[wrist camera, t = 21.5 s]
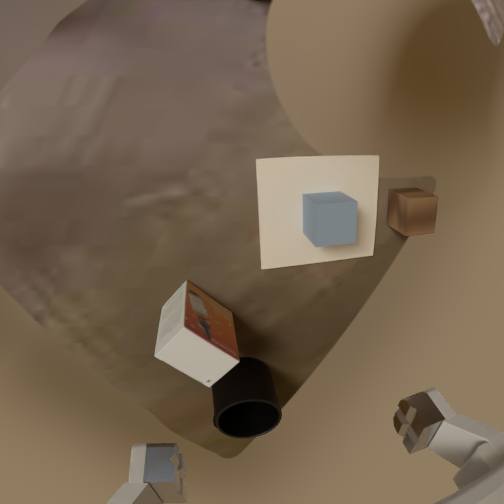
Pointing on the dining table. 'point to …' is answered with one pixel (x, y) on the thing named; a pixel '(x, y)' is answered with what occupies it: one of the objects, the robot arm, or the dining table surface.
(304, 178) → the cream flat square panel
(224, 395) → the mug
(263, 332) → the dining table surface
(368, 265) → the dining table surface
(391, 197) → the block
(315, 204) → the cube
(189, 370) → the small box
